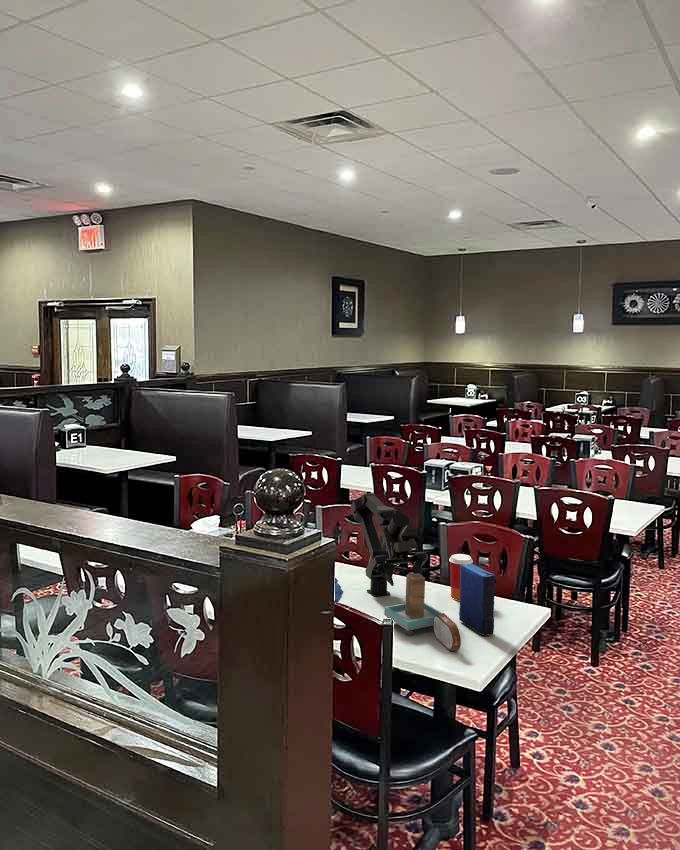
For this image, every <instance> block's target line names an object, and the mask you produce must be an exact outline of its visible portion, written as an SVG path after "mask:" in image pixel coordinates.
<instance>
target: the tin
mask: <svg viewBox="0 0 680 850" xmlns="http://www.w3.org/2000/svg"><path fill="white" fill-rule="evenodd" d="M433 624H434V625H433V632H434V635H435V637H436V640H437V641H439V642H440V644H441V645H442V646H444V648H446V650H448V652H449V651H450V652H451V651H459V650H460V648H461V644H462V638H461V632H460V629H459V627H458V625H457V624H456V622H454V620H452V619H451V618H450V617H449V616H448V615H447V614H446V613H444V612H441V614H436V615H435V616H434V618H433Z"/></svg>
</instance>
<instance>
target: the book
mask: <svg viewBox="0 0 680 850" xmlns="http://www.w3.org/2000/svg"><path fill="white" fill-rule="evenodd" d="M495 583H496V575H495V574H494V573H492V572H489V571H487V570H485V569H483V568H481V567H478V566H477V565H475V564H473V563H472V564H465V565H461V566H460V601H459V609H458V611H459V612H458V615H459V616H458V617H459V618H458V619H459V621H460V622H461V623H462V624H464V625H465V626H467V627H469V628H470V629H472V630H474V631H475V632H477V633H478V634H479V635H482V636H492V635H494V633H495V632H494V631H495V629H494V628H495V617H494V615H495V614H494V612H495V611H494V609H495V587H496V586H495V585H496V584H495Z"/></svg>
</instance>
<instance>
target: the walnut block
mask: <svg viewBox="0 0 680 850" xmlns="http://www.w3.org/2000/svg"><path fill="white" fill-rule="evenodd" d="M405 577H406V579H405V580H406V581H405V614H406V615H407V616H408V617H409V618H411V619H413V618H422V617H424V603H425V598H426V597H425V595H426V594H425V593H426V591H425V589H426V577H424V576H423V575H422V574H421V573H420V574H414V573H411V574H406V576H405Z"/></svg>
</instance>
